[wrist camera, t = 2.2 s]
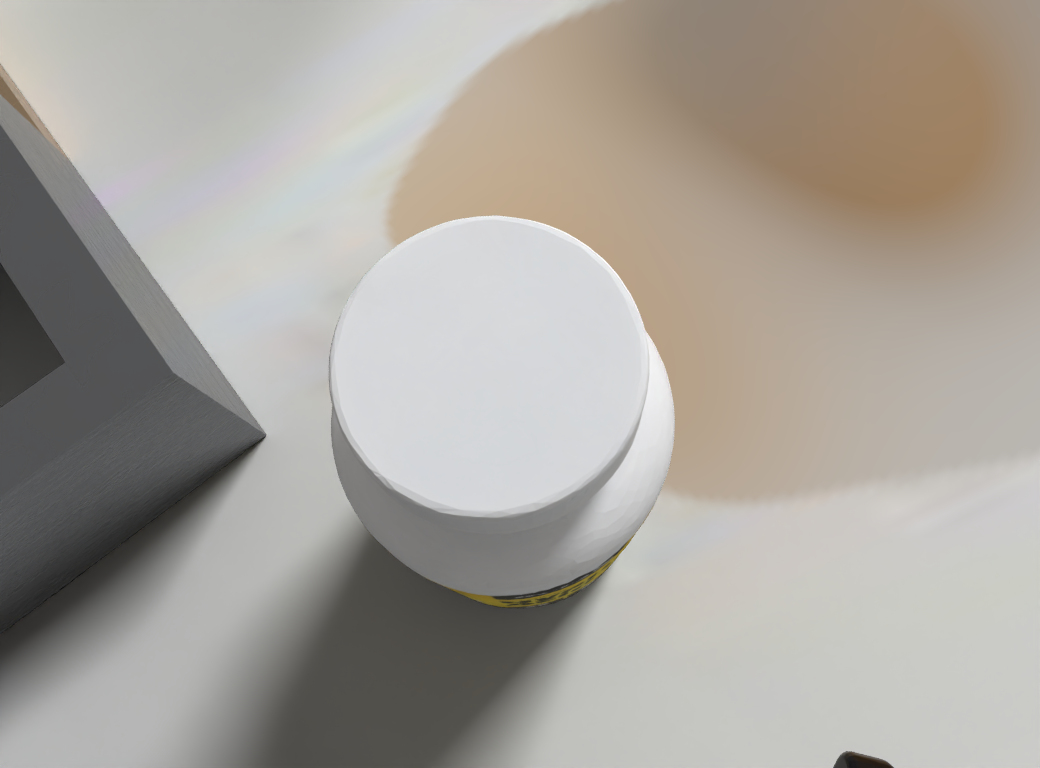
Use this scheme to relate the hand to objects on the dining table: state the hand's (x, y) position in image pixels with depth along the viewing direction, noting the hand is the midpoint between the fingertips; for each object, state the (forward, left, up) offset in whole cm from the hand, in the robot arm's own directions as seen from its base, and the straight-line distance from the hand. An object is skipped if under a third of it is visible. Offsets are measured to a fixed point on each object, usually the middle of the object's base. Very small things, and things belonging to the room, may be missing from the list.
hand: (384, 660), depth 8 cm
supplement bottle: (+3, +2, -11) cm, 11 cm away
